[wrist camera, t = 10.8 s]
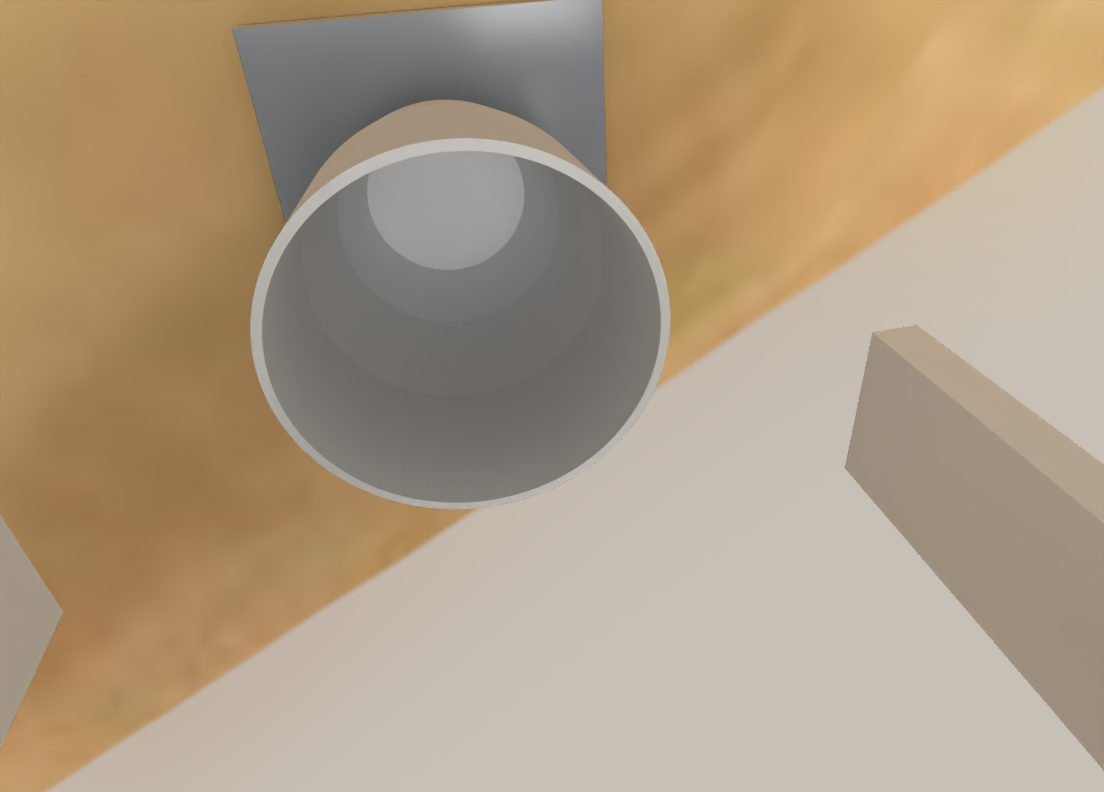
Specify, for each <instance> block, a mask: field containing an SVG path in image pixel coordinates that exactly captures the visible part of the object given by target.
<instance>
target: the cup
mask: <svg viewBox="0 0 1104 792" xmlns="http://www.w3.org/2000/svg"><path fill="white" fill-rule="evenodd" d="M670 323H671V318H670V301H669V294H668V288H667V283H666V279H665V275H664V272H663V268H662V266H661V263H660V260H659V258H658V255H657V253H656V251H655V248H654V246H653V244H652V242H651V241H650V239H649V237H648V235H647V234H646V232H645V230H644V229H643V227H642V226H641V224H640V223H639V221H638V220H637V219H636V217H635V216H634V215H633V214H632V212H631V211H630V210H629V209H628V208H627V207H626V205H625V204H624V203H623V202H622V201H621V200H620V199H619V198H618V197H617V196H616V195H615V194H614V193H613V192H612V191H611V190H609V189H608V188H607V187H606V186H605V185H604V184H603V183H602V182H601V181H600V180H599V179H598V178H597V177H596V176H595V175H593V174H592V173H591V172H590V171H589V170H588V169H587V168H586V167H585V166H584V165H583V164H582V163H581V162H580V161H579V160H577V159H576V158H575V157H574V156H573V155H572V154H571V153H570V152H569V151H568V150H567V149H566V148H565V147H564V146H562V145H561V144H560V143H559V142H558V141H557V140H555V139H554V138H553V137H551V136H550V135H549V134H547V133H546V132H544V131H543V130H541V129H540V128H538V127H536V126H535V125H533V124H531V123H529V122H527V121H525V120H523V119H521V118H519V117H516V116H514V115H511V114H509V113H506V112H503V111H499V110H496V109H493V108H490V107H486V106H483V105H480V104H476V103H472V102H467V101H460V100H431V101H424V102H419V103H415V104H412V105H408V106H406V107H403V108H400V109H398V110H396V111H394V112H391V113H390V114H388V115H386V116H384V117H382V118H381V119H379V120H377V121H376V122H374V123H372V124H370V125H369V126H367V127H365V128H364V129H362V130H361V131H359V132H358V133H356V134H355V135H353V136H352V137H351V138H350V139H348V140H347V141H346V142H345V143H343V144H342V145H341V146H340V147H339V148H338V149H337V150H336V151H335V152H334V153H333V154H332V155H331V156H330V157H329V158H328V160H327V161H326V162H325V163H324V165H323V166H322V167H321V169H320V170H319V171H318V173H317V174H316V176H315V177H314V179H313V181H312V182H311V184H310V185H309V187H308V189H307V190H306V192H305V193H304V195H303V197H302V198H301V200H300V201H299V203H298V205H297V206H296V208H295V209H294V211H293V212H292V214H291V216H290V217H289V219H288V220H287V222H286V224H285V225H284V227H283V228H282V230H281V232H280V233H279V235H278V236H277V238H276V240H275V241H274V243H273V245H272V247H271V249H270V251H269V253H268V255H267V257H266V259H265V261H264V263H263V266H262V268H261V271H260V274H259V277H258V280H257V284H256V287H255V291H254V296H253V302H252V308H251V320H250V337H251V348H252V355H253V361H254V365H255V369H256V373H257V376H258V380H259V383H260V385H261V388H262V391H263V393H264V395H265V397H266V400H267V402H268V404H269V405H270V407H271V409H272V411H273V413H274V414H275V416H276V418H277V419H278V421H279V422H280V424H281V425H282V426H283V428H284V429H285V431H286V432H287V433H288V434H289V435H290V437H291V438H292V439H293V440H294V441H295V442H296V443H297V445H298V446H299V447H300V448H301V449H302V450H303V451H304V452H305V453H307V454H308V455H309V456H310V457H311V458H312V459H313V460H315V461H316V462H317V463H318V464H320V465H321V466H322V467H323V468H325V469H326V470H328V471H329V472H331V473H332V474H334V475H335V476H337V477H338V478H340V479H342V480H344V481H345V482H347V483H349V484H351V485H353V486H355V487H357V488H359V489H361V490H363V491H366V492H368V493H371V494H373V495H376V496H379V497H382V498H385V499H388V500H391V501H395V502H399V503H403V504H408V505H413V506H419V507H426V508H435V509H475V508H485V507H492V506H497V505H503V504H507V503H512V502H515V501H519V500H523V499H526V498H529V497H532V496H535V495H538V494H540V493H543V492H545V491H548V490H550V489H552V488H555V487H557V486H558V485H560V484H563V483H565V482H567V481H568V480H570V479H572V478H574V477H575V476H577V475H579V474H580V473H582V472H583V471H585V470H586V469H588V468H589V467H590V466H592V465H593V464H595V463H596V462H597V461H598V460H600V459H601V458H602V457H603V456H605V455H606V454H607V453H608V452H609V451H610V450H611V449H612V448H613V447H614V446H615V445H617V443H618V442H619V441H620V440H621V439H622V438H623V437H624V436H625V435H626V434H627V433H628V431H629V430H630V429H631V428H632V426H633V425H634V424H635V422H636V421H637V420H638V418H639V417H640V415H641V414H642V412H643V411H644V409H645V407H646V406H647V404H648V402H649V400H650V399H651V397H652V395H653V393H654V391H655V388H656V386H657V384H658V381H659V379H660V376H661V373H662V370H663V367H664V363H665V360H666V355H667V351H668V345H669V337H670Z"/></svg>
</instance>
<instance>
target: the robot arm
mask: <svg viewBox="0 0 1104 792" xmlns="http://www.w3.org/2000/svg"><path fill="white" fill-rule="evenodd" d="M845 469H846V470H847V471H848V472H849V473H850V475H851V476H852V477H853V478H854V479H855V480H856V482H857V483H858V484H859V485H860V486H861V487H862V489H863V490H864V491H865V492H866V493H867V494H868V496H869V497H870V498H871V499H872V500H873V501H874V503H875V504H876V505H877V506H878V507H879V508H880V509H881V511H882V512H883V513H884V514H885V515H886V517H887V518H888V519H889V520H890V521H891V522H892V524H893V525H894V526H895V527H896V528H897V529H898V530H899V532H900V533H901V534H902V535H903V536H904V538H905V539H906V540H907V541H908V542H909V543H910V545H911V546H912V547H913V548H914V549H915V550H916V552H917V553H918V554H919V555H920V556H921V557H922V559H923V560H924V561H925V562H926V563H927V564H928V566H929V567H930V568H931V569H932V570H933V572H934V573H935V574H936V575H937V576H938V577H939V578H940V580H941V581H942V582H943V583H944V584H945V586H946V587H947V588H948V589H949V590H950V591H951V593H952V594H953V595H954V596H955V597H956V598H957V600H958V601H959V602H960V603H961V604H962V605H963V606H964V608H965V609H966V610H967V611H968V612H969V613H970V615H971V616H972V617H973V618H974V619H975V620H976V622H977V623H978V624H979V625H980V626H981V628H982V629H983V630H984V631H985V632H986V633H987V635H989V637H990V638H991V639H992V640H993V641H994V643H995V644H996V645H997V646H998V647H999V649H1000V650H1001V651H1002V652H1003V653H1004V654H1005V656H1006V657H1007V658H1008V659H1009V660H1010V661H1011V663H1012V664H1013V665H1014V666H1015V667H1016V668H1017V670H1018V671H1019V672H1020V673H1021V674H1022V675H1023V677H1024V678H1025V679H1026V680H1027V681H1028V682H1029V684H1030V685H1031V686H1032V687H1033V688H1034V689H1035V691H1036V692H1037V693H1038V694H1039V695H1040V696H1041V698H1042V699H1043V700H1044V701H1045V702H1046V703H1047V705H1048V706H1049V707H1050V708H1051V709H1052V710H1053V711H1054V713H1055V714H1056V715H1057V716H1058V717H1059V719H1060V720H1061V721H1062V722H1063V723H1064V724H1065V726H1066V727H1067V728H1068V729H1069V730H1070V731H1071V733H1072V734H1073V735H1074V736H1075V737H1076V738H1077V740H1078V741H1079V742H1080V743H1081V744H1082V746H1083V747H1084V748H1085V749H1086V750H1087V751H1088V752H1089V754H1090V755H1091V756H1092V757H1093V758H1094V759H1095V761H1096V762H1097V763H1098V764H1099V765H1100V767H1101V768H1102V769H1103V770H1104V464H1102V463H1101V462H1100V461H1098V460H1097V459H1096V458H1095V457H1093V456H1092V455H1091V454H1089V453H1088V452H1086V451H1085V450H1084V449H1082V448H1081V447H1080V446H1078V445H1077V444H1076V443H1074V442H1073V441H1072V440H1070V439H1069V438H1068V437H1066V436H1065V435H1064V434H1062V433H1061V432H1059V431H1058V430H1057V429H1056V428H1054V427H1053V426H1052V425H1050V424H1049V423H1047V422H1046V421H1045V420H1044V419H1042V418H1041V417H1039V416H1038V415H1037V414H1035V413H1034V412H1033V411H1031V410H1030V409H1029V408H1027V407H1026V406H1024V405H1023V404H1022V403H1021V402H1019V401H1018V400H1017V399H1015V398H1014V397H1013V396H1011V395H1010V394H1009V393H1007V392H1006V391H1005V390H1003V389H1002V388H1001V387H999V386H998V385H997V384H995V383H994V382H992V381H991V380H990V379H988V378H987V377H986V376H984V375H983V374H982V373H980V372H979V371H978V370H976V369H975V368H974V367H972V366H971V365H970V364H968V363H967V362H966V361H964V360H963V359H962V358H960V357H959V356H958V355H956V354H955V353H953V352H952V351H951V350H949V349H948V348H947V347H945V346H944V345H943V344H941V343H940V342H939V341H937V340H936V339H935V338H933V337H932V336H931V335H929V334H928V333H927V332H925V331H924V330H923V329H921V328H920V327H918V326H917V325H915V326H909V327H903V328H896V329H890V330H884V331H878V332H873V333H872V338H871V342H870V347H869V352H868V357H867V362H866V367H865V372H864V377H863V382H862V386H861V392H860V396H859V402H858V407H857V411H856V416H855V421H854V426H853V431H852V436H851V440H850V445H849V450H848V455H847V460H846V465H845ZM62 614H63V611H62V609H61V608H60V606H59V605H58V603H57V602H56V600H55V598H54V597H53V595H52V594H51V592H50V591H49V589H48V588H47V586H46V585H45V583H44V581H43V580H42V578H41V577H40V575H39V574H38V572H37V571H36V569H35V568H34V566H33V564H32V563H31V561H30V560H29V558H28V557H27V555H26V554H25V552H24V550H23V549H22V547H21V546H20V544H19V543H18V541H17V540H16V538H15V537H14V535H13V533H12V532H11V530H10V529H9V527H8V526H7V524H6V523H5V521H4V520H3V518H2V516H1V515H0V748H1V746H2V744H3V742H4V739H5V737H6V735H7V733H8V731H9V729H10V726H11V724H12V722H13V720H14V718H15V716H16V713H17V711H18V709H19V707H20V705H21V703H22V700H23V698H24V696H25V694H26V692H27V690H28V687H29V685H30V683H31V681H32V679H33V677H34V674H35V672H36V670H37V668H38V666H39V664H40V661H41V659H42V657H43V655H44V653H45V651H46V648H47V646H48V644H49V642H50V640H51V638H52V636H53V633H54V631H55V629H56V627H57V625H58V623H59V620H60V618H61V616H62Z"/></svg>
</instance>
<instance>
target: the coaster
mask: <svg viewBox="0 0 1104 792" xmlns="http://www.w3.org/2000/svg"><path fill="white" fill-rule="evenodd" d="M233 33H234V36H235V40H236V44H237V47H238V51H239V55H240V58H241V62H242V66H243V69H244V73H245V77H246V80H247V84H248V88H249V91H250V95H251V98H252V102H253V106H254V109H255V113H256V117H257V120H258V124H259V128H260V131H261V135H262V139H263V142H264V146H265V149H266V153H267V157H268V160H269V164H270V168H271V171H272V175H273V179H274V182H275V186H276V190H277V193H278V197H279V201H280V204H281V208H282V211H283V215H284V219H285V222H287V220H288V219H289V217H290V216H291V214H292V212H293V211H294V209H295V208H296V206H297V205H298V203H299V201H300V200H301V198H302V197H303V195H304V193H305V192H306V190H307V189H308V187H309V185H310V184H311V182H312V181H313V179H314V177H315V176H316V174H317V173H318V171H319V170H320V169H321V167H322V166H323V165H324V163H325V162H326V161H327V160H328V158H329V157H330V156H331V155H332V154H333V153H334V152H335V151H336V150H337V149H338V148H339V147H340V146H341V145H342V144H343V143H345V142H346V141H347V140H348V139H350V138H351V137H352V136H353V135H355V134H356V133H358V132H359V131H361V130H362V129H364V128H365V127H367V126H369V125H370V124H372V123H374V122H376V121H377V120H379V119H381V118H382V117H384V116H386V115H388V114H390V113H391V112H394V111H396V110H398V109H400V108H403V107H406V106H408V105H412V104H415V103H419V102H424V101H431V100H460V101H467V102H472V103H476V104H480V105H483V106H486V107H490V108H493V109H496V110H499V111H503V112H506V113H509V114H511V115H514V116H516V117H519V118H521V119H523V120H525V121H527V122H529V123H531V124H533V125H535V126H536V127H538V128H540V129H541V130H543V131H544V132H546V133H547V134H549V135H550V136H551V137H553V138H554V139H555V140H557V141H558V142H559V143H560V144H561V145H562V146H564V147H565V148H566V149H567V150H568V151H569V152H570V153H571V154H572V155H573V156H574V157H575V158H576V159H577V160H579V161H580V162H581V163H582V164H583V165H584V166H585V167H586V168H587V169H588V170H589V171H590V172H591V173H592V174H593V175H595V176H596V177H597V178H598V179H599V180H600V181H601V182H602V183H603V184H604V185H605V186H606V156H605V110H604V64H603V17H602V0H521V1H509V2H498V3H487V4H475V5H464V6H453V7H441V8H430V9H419V10H407V11H396V12H385V13H373V14H362V15H351V16H339V17H328V18H317V19H305V20H294V21H283V22H271V23H260V24H249V25H238V26H236V27H235V28H233Z"/></svg>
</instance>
